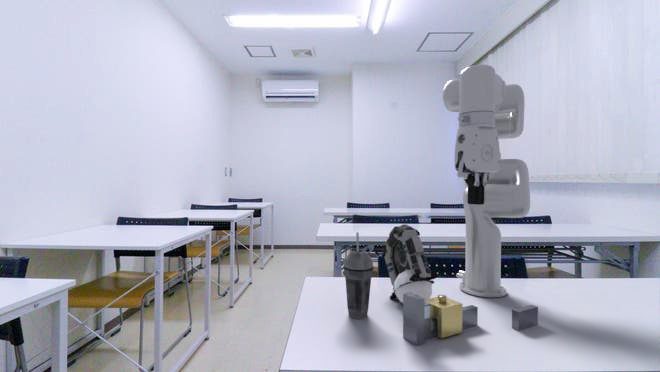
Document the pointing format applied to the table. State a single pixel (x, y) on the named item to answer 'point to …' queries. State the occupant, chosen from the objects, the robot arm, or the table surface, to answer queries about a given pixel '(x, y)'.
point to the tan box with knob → (446, 315)
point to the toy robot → (407, 263)
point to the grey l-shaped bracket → (427, 319)
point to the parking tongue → (524, 317)
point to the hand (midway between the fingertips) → (475, 204)
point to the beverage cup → (358, 282)
